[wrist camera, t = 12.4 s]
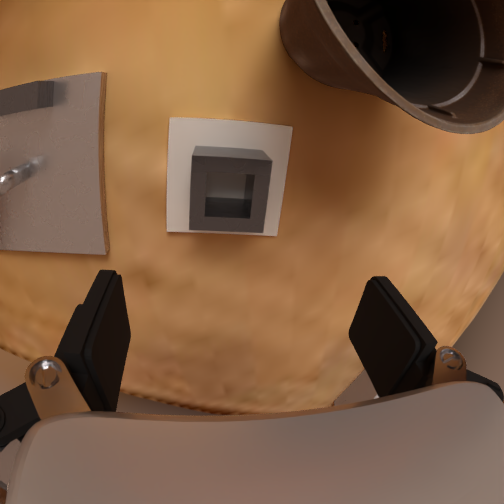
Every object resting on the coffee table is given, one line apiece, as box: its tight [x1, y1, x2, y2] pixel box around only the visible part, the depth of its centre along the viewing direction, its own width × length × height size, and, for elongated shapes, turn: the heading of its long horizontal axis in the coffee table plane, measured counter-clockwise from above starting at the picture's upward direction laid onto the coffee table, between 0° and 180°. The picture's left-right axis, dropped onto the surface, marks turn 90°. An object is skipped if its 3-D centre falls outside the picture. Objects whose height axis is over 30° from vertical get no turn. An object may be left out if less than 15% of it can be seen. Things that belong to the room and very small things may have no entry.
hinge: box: [334, 369, 379, 406], centre depth 43 cm, size 17×5×10 cm, turn 156°
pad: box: [167, 117, 293, 236], centre depth 28 cm, size 11×11×1 cm
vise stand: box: [0, 72, 110, 255], centre depth 22 cm, size 18×18×6 cm
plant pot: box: [280, 0, 504, 134], centre depth 15 cm, size 16×16×16 cm
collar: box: [189, 146, 273, 233], centre depth 25 cm, size 6×6×5 cm
